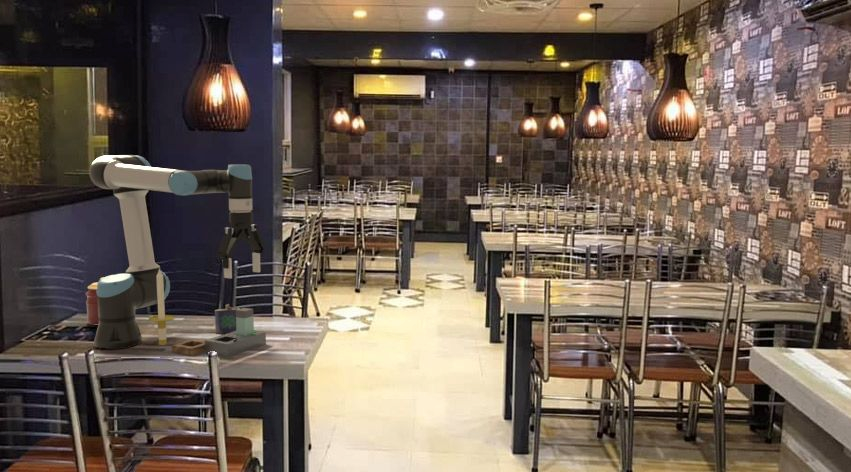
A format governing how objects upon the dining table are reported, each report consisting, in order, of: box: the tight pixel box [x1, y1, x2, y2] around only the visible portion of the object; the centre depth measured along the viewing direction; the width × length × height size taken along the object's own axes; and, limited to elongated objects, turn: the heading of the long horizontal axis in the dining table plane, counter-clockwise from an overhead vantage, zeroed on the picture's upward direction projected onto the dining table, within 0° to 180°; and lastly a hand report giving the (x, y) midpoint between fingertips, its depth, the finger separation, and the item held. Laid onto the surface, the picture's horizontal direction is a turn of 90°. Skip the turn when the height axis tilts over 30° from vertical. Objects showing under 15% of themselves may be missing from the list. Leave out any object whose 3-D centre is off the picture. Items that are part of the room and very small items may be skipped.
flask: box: [214, 303, 241, 336], centre depth 268 cm, size 9×3×11 cm, turn 105°
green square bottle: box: [236, 307, 255, 336], centre depth 248 cm, size 4×4×12 cm
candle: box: [148, 267, 176, 346], centre depth 250 cm, size 10×10×27 cm
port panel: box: [203, 329, 267, 358], centre depth 245 cm, size 10×18×5 cm, turn 151°
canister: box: [85, 276, 104, 324], centre depth 285 cm, size 13×13×18 cm
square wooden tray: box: [171, 338, 205, 357], centre depth 243 cm, size 9×9×3 cm
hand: (242, 275), depth 246 cm, fingers open, 13 cm apart
